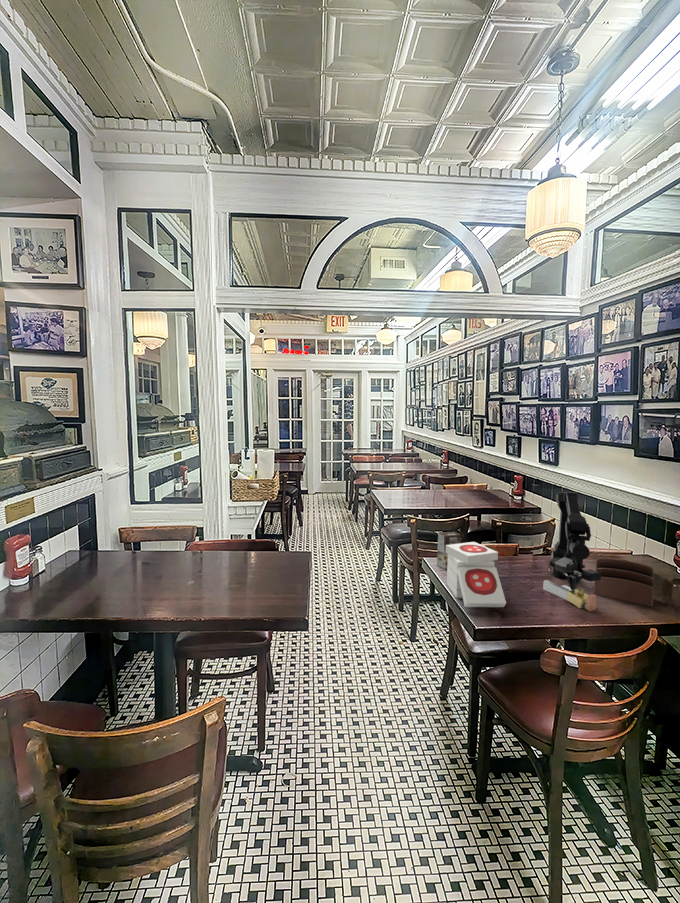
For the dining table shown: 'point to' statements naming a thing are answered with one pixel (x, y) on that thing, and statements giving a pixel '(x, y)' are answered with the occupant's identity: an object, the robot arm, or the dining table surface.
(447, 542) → the coffee box
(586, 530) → the robot arm
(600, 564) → the letter holder
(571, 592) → the clip saddle
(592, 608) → the flange rail
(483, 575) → the pizza boxes
